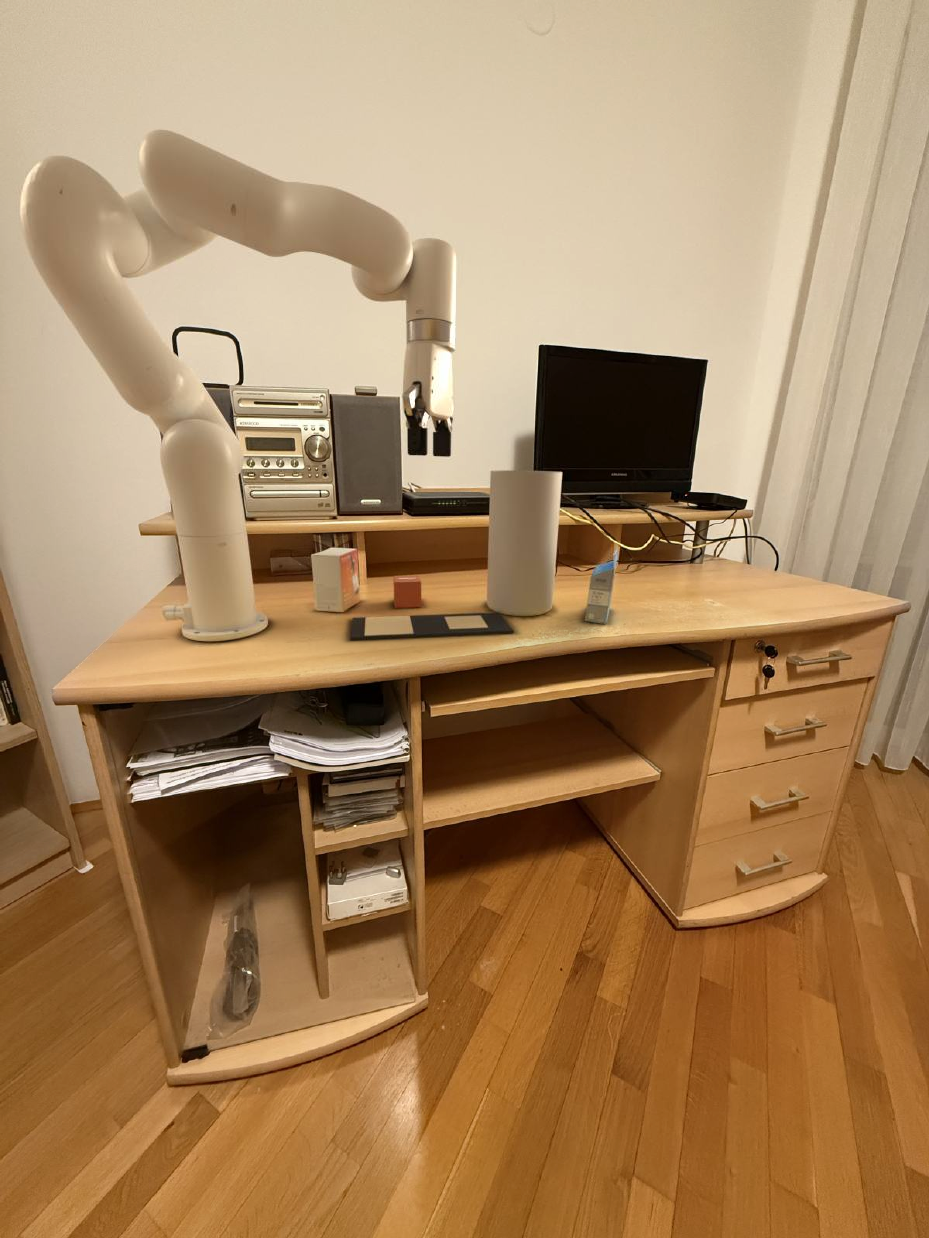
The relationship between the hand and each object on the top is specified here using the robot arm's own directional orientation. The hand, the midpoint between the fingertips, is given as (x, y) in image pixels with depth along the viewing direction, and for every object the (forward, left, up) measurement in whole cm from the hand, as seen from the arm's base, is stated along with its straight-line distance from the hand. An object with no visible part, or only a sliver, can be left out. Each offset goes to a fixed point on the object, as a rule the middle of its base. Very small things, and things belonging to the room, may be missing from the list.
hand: (430, 455), depth 81 cm
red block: (-4, +7, -27) cm, 28 cm away
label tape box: (+30, -5, -28) cm, 41 cm away
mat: (-1, -7, -27) cm, 28 cm away
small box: (-17, +7, -28) cm, 33 cm away
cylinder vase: (+17, +2, -28) cm, 32 cm away
